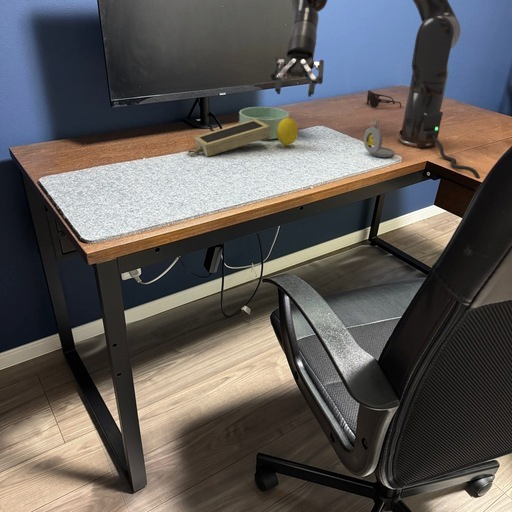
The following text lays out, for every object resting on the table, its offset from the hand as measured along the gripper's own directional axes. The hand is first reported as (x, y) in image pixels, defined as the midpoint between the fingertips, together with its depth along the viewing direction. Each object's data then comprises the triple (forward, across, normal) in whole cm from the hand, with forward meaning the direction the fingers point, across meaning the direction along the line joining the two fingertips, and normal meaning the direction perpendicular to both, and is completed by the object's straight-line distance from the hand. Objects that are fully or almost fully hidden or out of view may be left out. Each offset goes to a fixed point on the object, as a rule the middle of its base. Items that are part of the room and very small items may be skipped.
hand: (293, 93), depth 132 cm
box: (+19, -15, -1) cm, 24 cm away
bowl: (+7, -8, +11) cm, 15 cm away
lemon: (+14, 0, +4) cm, 15 cm away
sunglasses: (-28, +27, +46) cm, 60 cm away
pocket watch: (+14, +24, +5) cm, 28 cm away
